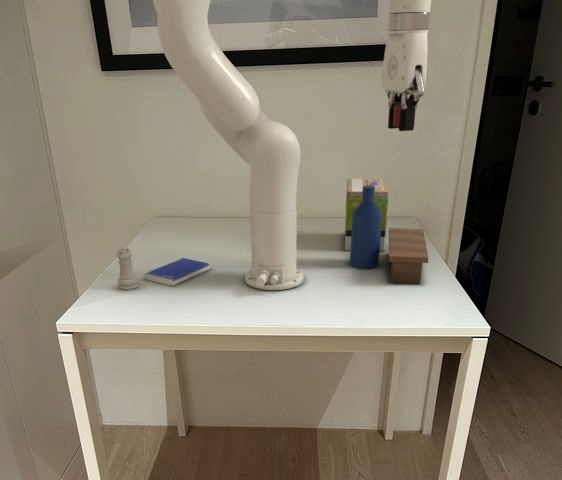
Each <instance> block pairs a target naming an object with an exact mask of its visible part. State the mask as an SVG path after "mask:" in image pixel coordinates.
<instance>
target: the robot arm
mask: <svg viewBox="0 0 562 480" xmlns="http://www.w3.org/2000/svg"><path fill="white" fill-rule="evenodd" d="M213 1H214V0H152V4H153V7H154V9H155V12H156V14H157V18H156V19H157V31H158V37H159V42H160V46H161V49H162V51H163V54H164V56H165V58H166V60H167V61H168V63H169V65H170V67H171V68H172V69H173V71H174V72H175V73H176V75H177V76H178V77H179V78H180V80H181V81H182V82H183V83H184V85H185V86H186V87H187V88H188V89H189V90H190V92H191V93H192V94H193V95H194V96H195V98H196V99H197V100H198V101H199V106H200V111H201V113H202V114H203V117H204V118H205V119H206V120H207V122H208V123H209V124H210V126H211V127H212V128H213V129H214V130H215V132H217V133H218V135H219V136H220V137H221V138H222V139H223V140H224V141H225V142H226V143H227V144H228V146H229V147H230V148H231V149H232V150H233V151H234V152H235V153H236V154H237V155H238V157H240V158H241V159H242V160H243V162H245V163H246V164H247V165H249V166H250V179H249V217H250V219H249V220H250V244H251V245H250V247H251V250H250V251H251V270H250V271H248V272H247V273H246V274H245V277H244V279H245V283H246V284H247V285H248V286H250V287H252V288H255V289H259V290H265V291H283V290H289V289H293V288H296V287H298V286H300V285H301V284H302V283H303V282H304V280H305V279H304V278H305V277H304V276H305V275H304V273H303V272H302V271H301V270H299V269H297V234H298V233H297V227H298V226H297V223H298V222H297V220H298V219H297V218H298V217H297V214H298V212H297V208H298V207H297V206H298V205H297V200H298V199H297V197H298V196H297V195H298V194H297V193H298V178H299V173H300V172H299V171H300V164H301V147H300V143H299V140H298V138H297V136H296V134H295V132H293V130H291V128H289V126H287V125H285V124H283V123H280V122H277V121H274V120H271V119H270V118H269V117H268V116H267V114H266V113H264V111H263V110H262V109H261V107H260V100H259V96H258V95H257V92H256V91H255V88H253V86H252V84H250V83H249V81H247V79H246V78H245V77H244V76H243V75H242V74H241V73H240V71H238V69H237V68H236V66H235V65H234V64H233V63H232V62H231V61H230V59H228V57H227V56H226V55H225V54H224V52H223V50H222V49H221V48H220V46H218V44H217V43H216V41H215V39H214V37H213V35H212V33H211V31H210V28H209V19H208V18H209V17H208V15H209V9H210V5H211V3H212V2H213ZM431 8H432V0H389V17H388V33H387V38H386V43H385V48H384V56H383V63H382V71H381V72H382V73H381V88H382V90H384V91H385V93H386V96H387V99H388V102H387V103H388V104H387V106H388V107H389V108H388V119H387V121H388V122H387V128H388V129H393V130H394V129H398V131H399V132H410V131H414V130H415V120H416V109H418V103H419V101H420V99H421V98H422V97H423V96H424V95H425V89H424V88H425V85H426V81H427V71H428V48H429V47H428V46H429V45H428V44H429V43H428V40H429V39H428V34H429V28H430V18H431V17H430V16H431ZM394 106H402V109H400V117H399V127H394V126H393V117H394Z"/></svg>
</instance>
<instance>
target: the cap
mask: <svg viewBox="0 0 562 480" xmlns="http://www.w3.org/2000/svg"><path fill="white" fill-rule="evenodd" d="M400 109H402V106H394V117H393V126H394V127H399V117H400Z"/></svg>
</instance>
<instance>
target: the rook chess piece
mask: <svg viewBox="0 0 562 480" xmlns="http://www.w3.org/2000/svg"><path fill="white" fill-rule="evenodd" d="M116 252H117V253H116V254H115V256H116V257H117V258H118V264H119V276H118V278H117V283H118V284H117V287H118V288H119V289H120V290H123V291H131V290H135V289H137V288H138V287H139V286H140V282H139V278H138V276H137V274H136V273H135V271H134V268H133V260H132V255H133V253H132V252H131V249H130V248H128V247H127V248H124V247H123V248H121V249H120V248H118V249H117V251H116Z"/></svg>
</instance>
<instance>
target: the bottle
mask: <svg viewBox="0 0 562 480" xmlns="http://www.w3.org/2000/svg"><path fill="white" fill-rule="evenodd" d="M362 189H363V194H362V202H361V203H360V204H359V205H358V206H357V207H356V208H355V209H354V211H353V212H352V230H351V250H350V251H349V252H350V253H349V265H350V267H353V268H356V269H360V270H361V269H362V270H369V269H374V268H377V267H378V266H379V262H380V251H379V250H380V237H381V224H382V212H381V209H379V207H378V206H377V205H376V203H375V202H374V193H375V186H369V185H368V186H363V188H362Z"/></svg>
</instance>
